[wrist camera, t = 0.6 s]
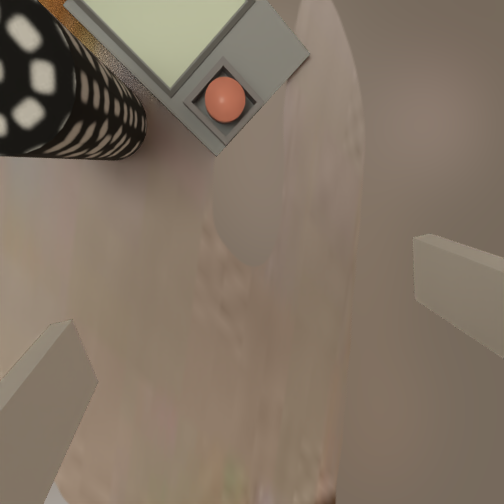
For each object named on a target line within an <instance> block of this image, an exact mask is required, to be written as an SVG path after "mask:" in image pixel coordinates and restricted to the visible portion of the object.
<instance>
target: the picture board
mask: <svg viewBox="0 0 504 504" xmlns="http://www.w3.org/2000/svg"><path fill="white" fill-rule="evenodd" d="M63 6H64V7H65V8H66V9H67V10H68V11H69V12H70V13H71V14H72V15H73V16H74V17H75V18H76V19H77V20H78V21H79V22H80V23H81V24H82V25H83V26H84V27H85V28H86V29H87V30H88V31H89V32H90V33H91V34H92V35H93V36H94V37H95V38H96V39H97V40H98V41H99V42H100V43H101V44H102V45H103V46H104V47H105V48H106V49H107V50H108V51H109V52H110V53H112V54H113V55H114V56H115V57H116V58H117V59H118V60H119V61H120V62H121V63H122V64H123V65H124V66H125V67H126V68H127V69H128V70H129V71H130V72H131V73H132V74H133V75H134V76H135V77H136V78H137V79H138V80H139V81H140V82H141V83H142V84H143V85H144V86H145V87H146V88H147V89H148V90H149V91H150V92H151V93H152V94H153V95H154V96H155V97H156V98H157V99H158V100H159V101H160V102H161V103H162V104H163V105H164V106H165V107H166V108H167V109H168V110H169V111H170V112H171V113H172V114H174V115H175V116H176V117H177V118H178V119H179V120H180V121H181V122H182V123H183V124H184V125H185V126H186V127H187V128H188V129H189V130H190V131H191V132H192V133H193V134H194V135H195V136H196V137H197V138H198V139H199V140H200V141H201V142H202V143H203V144H204V145H205V146H206V147H207V148H208V149H209V150H210V151H211V152H212V153H213V154H214V155H215V156H216V157H217V156H218V154H220V152H221V151H222V150H223V149H224V148H225V147H226V146H227V145H228V143H229V142H230V141H231V140H232V139H233V138H234V137H235V136H236V135H237V134H238V132H239V131H240V130H241V129H242V128H243V127H244V126H245V125H246V124H247V123H248V122H249V120H250V119H251V118H252V117H253V116H254V115H255V114H256V113H257V112H258V111H259V110H260V109H261V107H262V106H263V105H264V104H265V103H266V102H267V101H268V100H269V99H270V98H271V96H272V95H273V94H274V93H275V92H276V91H277V90H278V89H279V88H280V87H281V85H282V84H283V83H284V82H285V81H286V80H287V79H288V78H289V77H290V76H291V75H292V73H293V72H294V71H295V70H296V69H297V68H298V67H299V66H300V65H301V64H302V62H303V61H304V60H305V59H306V58H307V57H308V56H309V55H310V53H309V52H308V50H307V49H306V48H305V47H304V46H303V44H302V43H301V42H300V41H299V39H298V38H297V37H296V36H295V34H294V33H293V32H292V31H291V29H290V28H289V27H288V26H287V25H286V23H285V22H284V21H283V20H282V18H281V17H280V16H279V15H278V13H277V12H276V11H275V10H274V8H273V7H272V6H271V5H270V3H269V2H268V1H267V0H67V1H66V2H65V3H64V4H63ZM219 77H230V78H232V79H234V80H236V81H237V82H238V83H239V84H240V85H241V87H242V88H243V90H244V93H245V106H244V109H243V111H242V113H241V114H240V116H239V117H238V118H237V119H236V120H235V121H233V122H231V123H227V124H223V123H219V122H216V121H215V120H213V119H212V118H211V117H210V115H209V114H208V112H207V110H206V106H205V93H206V90H207V87H208V86H209V84H210V83H211V82H212V81H213V80H215V79H216V78H219Z"/></svg>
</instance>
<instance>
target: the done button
mask: <svg viewBox="0 0 504 504" xmlns="http://www.w3.org/2000/svg"><path fill="white" fill-rule="evenodd" d="M205 106H206V110H207V112H208V114H209V115H210V117H211V118H212V119H213V120H215V121H216V122H219V123H223V124H227V123H231V122H233V121H235V120H236V119H237V118H238V117H239V116H240V114H241V113H242V111H243V109H244V106H245V93H244V90H243V88H242V87H241V85H240V84H239V83H238V82H237V81H236V80H234V79H232V78H230V77H219V78H216V79H215V80H213V81H212V82H211V83H210V84H209V86H208V87H207V90H206V93H205Z"/></svg>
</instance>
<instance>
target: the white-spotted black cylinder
mask: <svg viewBox="0 0 504 504" xmlns="http://www.w3.org/2000/svg"><path fill="white" fill-rule="evenodd" d="M146 128H147V122H146V115H145V111H144V109H143V106H142V104H141V102H140V101H139V99H138V98H137V96H136V95H135V94H134V93H133V92H132V91H131V90H130V89H129V88H128V87H127V86H126V85H125V84H124V83H123V82H122V81H121V80H120V79H119V78H118V77H117V76H115V75H114V74H113V73H112V72H111V71H110V70H109V69H108V68H107V67H106V66H105V65H104V64H103V63H102V62H101V61H100V60H99V59H98V58H97V57H96V56H95V55H94V54H93V53H92V52H91V51H90V50H89V49H87V48H86V47H85V46H84V45H83V44H82V43H81V42H80V41H79V40H78V39H77V38H76V37H75V36H74V35H73V34H72V33H71V32H70V31H69V30H68V29H67V28H66V27H65V26H64V25H63V24H62V23H61V22H59V21H58V20H57V19H56V18H55V17H54V16H53V15H52V14H51V13H50V12H49V11H48V10H47V9H46V8H45V7H44V6H43V5H42V4H41V3H40V2H39V1H38V0H0V156H8V157H35V158H62V159H88V160H119V159H123V158H126V157H128V156H130V155H131V154H133V153H134V152H135V151H136V150H137V149H138V148H139V147H140V145H141V144H142V142H143V140H144V137H145V135H146Z"/></svg>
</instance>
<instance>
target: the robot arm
mask: <svg viewBox="0 0 504 504" xmlns="http://www.w3.org/2000/svg"><path fill="white" fill-rule="evenodd" d="M413 264H414V293H415V300H416V301H417V302H419V303H420V304H422V305H423V306H425V307H427V308H428V309H429V310H431V311H432V312H434V313H436V314H437V315H439V316H440V317H441V318H443V319H444V320H446V321H448V322H449V323H451V324H452V325H453V326H455V327H457V328H458V329H460V330H461V331H463V332H464V333H466V334H467V335H469V336H470V337H472V338H473V339H475V340H476V341H478V342H479V343H481V344H482V345H484V346H485V347H487V348H488V349H490V350H491V351H493V352H494V353H496V354H497V355H499V356H500V357H502V358H503V359H504V258H503V257H500V256H497V255H494V254H491V253H488V252H485V251H482V250H479V249H476V248H473V247H470V246H467V245H464V244H461V243H458V242H455V241H452V240H448V239H446V238H443V237H440V236H437V235H434V234H431V233H430V234H426V235H422V236H417V237H414V238H413ZM97 384H98V379H97V377H96V374H95V372H94V370H93V367H92V365H91V362H90V360H89V358H88V355H87V353H86V350H85V348H84V346H83V343H82V341H81V338H80V336H79V334H78V331H77V329H76V326H75V324H74V322H73V319H71V320H67V321H63V322H59V323H55V324H50V326H49V327H48V328H47V329H46V330H45V331H44V332H43V333H42V335H41V336H40V337H39V338H38V339H37V340H36V341H35V342H34V344H33V345H32V346H31V347H30V348H29V349H28V350H27V351H26V353H25V354H24V355H23V356H22V357H21V358H20V359H19V360H18V362H17V363H16V364H15V365H14V366H13V367H12V368H11V369H10V371H9V372H8V373H7V374H6V375H5V376H4V377H3V378H2V380H1V381H0V504H44V501H45V499H46V497H47V495H48V493H49V490H50V488H51V486H52V484H53V481H54V479H55V477H56V475H57V473H58V470H59V468H60V466H61V464H62V462H63V459H64V457H65V455H66V453H67V450H68V448H69V446H70V444H71V442H72V439H73V437H74V435H75V433H76V430H77V428H78V426H79V424H80V422H81V419H82V417H83V415H84V413H85V410H86V408H87V406H88V404H89V402H90V399H91V397H92V395H93V393H94V390H95V388H96V386H97Z"/></svg>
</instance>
